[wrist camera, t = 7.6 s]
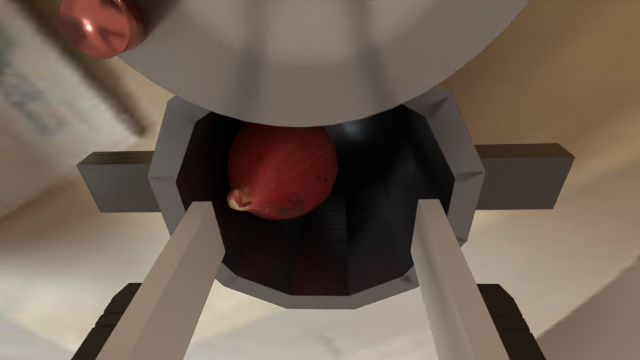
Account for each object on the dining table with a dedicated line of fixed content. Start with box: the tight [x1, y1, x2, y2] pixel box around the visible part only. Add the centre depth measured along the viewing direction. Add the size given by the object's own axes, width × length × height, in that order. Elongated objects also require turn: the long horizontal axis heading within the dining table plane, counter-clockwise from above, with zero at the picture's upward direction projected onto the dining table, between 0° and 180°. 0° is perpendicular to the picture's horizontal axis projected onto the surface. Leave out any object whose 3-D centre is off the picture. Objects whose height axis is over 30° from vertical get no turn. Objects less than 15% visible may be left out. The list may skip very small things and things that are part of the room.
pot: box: [76, 82, 575, 309], centre depth 17 cm, size 21×12×10 cm, turn 92°
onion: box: [227, 122, 339, 220], centre depth 18 cm, size 6×6×8 cm
